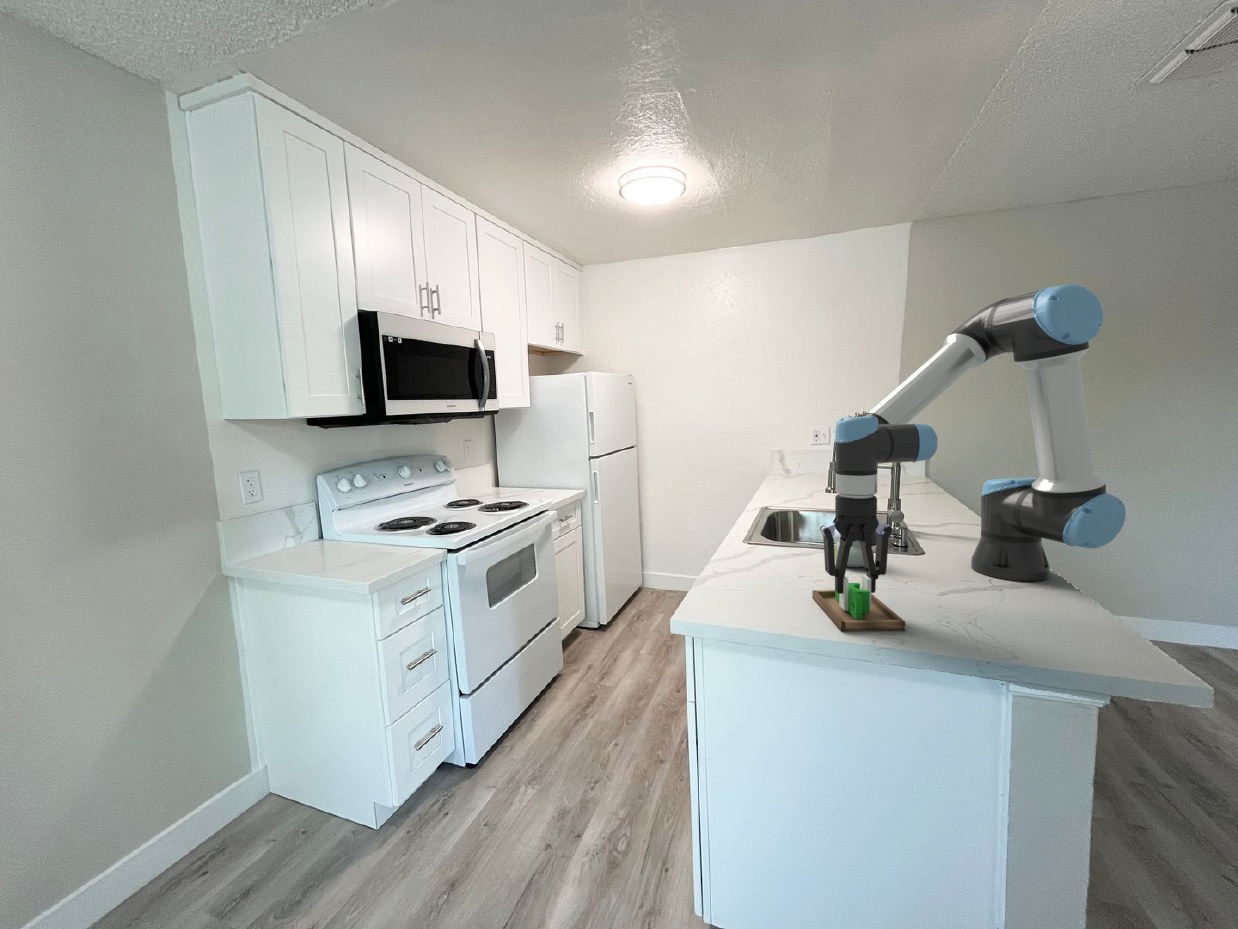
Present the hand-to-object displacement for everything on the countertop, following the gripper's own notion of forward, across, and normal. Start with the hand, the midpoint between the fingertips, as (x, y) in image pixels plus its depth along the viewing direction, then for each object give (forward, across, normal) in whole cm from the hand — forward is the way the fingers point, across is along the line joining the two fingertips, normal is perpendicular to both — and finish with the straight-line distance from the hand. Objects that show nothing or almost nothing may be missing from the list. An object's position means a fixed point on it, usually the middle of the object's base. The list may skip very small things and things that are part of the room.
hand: (854, 607), depth 101 cm
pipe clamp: (0, 0, 0) cm, 0 cm away
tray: (+1, 0, 0) cm, 1 cm away
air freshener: (+1, -12, -32) cm, 34 cm away
